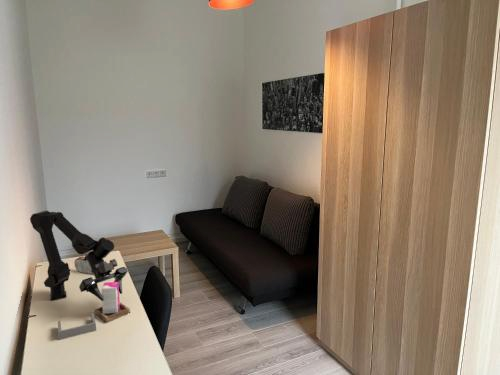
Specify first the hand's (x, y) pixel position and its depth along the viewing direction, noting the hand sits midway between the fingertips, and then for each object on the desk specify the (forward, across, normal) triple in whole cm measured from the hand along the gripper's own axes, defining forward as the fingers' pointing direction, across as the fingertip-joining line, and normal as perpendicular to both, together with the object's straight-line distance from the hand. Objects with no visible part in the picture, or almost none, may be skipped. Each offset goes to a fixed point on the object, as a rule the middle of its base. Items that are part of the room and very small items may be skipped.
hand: (112, 296), depth 150 cm
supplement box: (+4, 0, +6) cm, 7 cm away
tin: (-29, +12, +41) cm, 52 cm away
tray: (+5, 0, +6) cm, 8 cm away
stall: (+5, -14, +6) cm, 16 cm away
